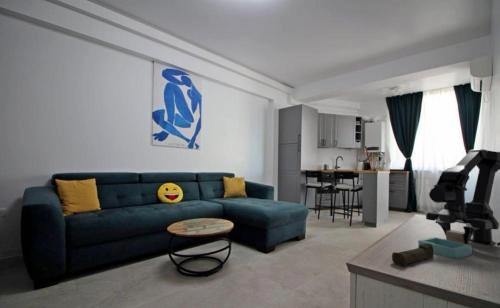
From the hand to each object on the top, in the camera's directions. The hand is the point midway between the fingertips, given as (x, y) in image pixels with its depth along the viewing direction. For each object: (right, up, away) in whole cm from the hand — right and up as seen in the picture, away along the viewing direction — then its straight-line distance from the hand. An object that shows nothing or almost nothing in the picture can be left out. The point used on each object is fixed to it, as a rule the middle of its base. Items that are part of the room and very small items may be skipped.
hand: (457, 242), depth 89 cm
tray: (-12, 0, -8) cm, 14 cm away
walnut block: (0, -1, 0) cm, 1 cm away
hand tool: (-29, 0, -16) cm, 33 cm away
